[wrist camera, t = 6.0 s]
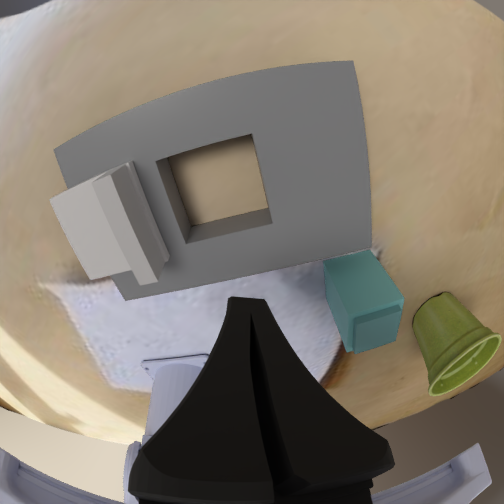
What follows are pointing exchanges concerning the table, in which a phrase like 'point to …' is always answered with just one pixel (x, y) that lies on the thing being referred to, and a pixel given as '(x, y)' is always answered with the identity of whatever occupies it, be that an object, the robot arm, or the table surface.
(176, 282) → the socket plate
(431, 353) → the plant pot
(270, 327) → the robot arm
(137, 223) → the white stepped block
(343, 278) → the plug
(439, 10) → the table surface
